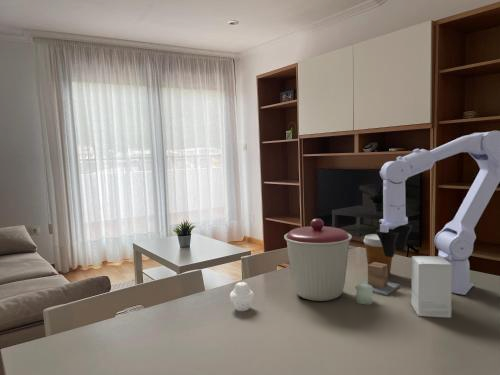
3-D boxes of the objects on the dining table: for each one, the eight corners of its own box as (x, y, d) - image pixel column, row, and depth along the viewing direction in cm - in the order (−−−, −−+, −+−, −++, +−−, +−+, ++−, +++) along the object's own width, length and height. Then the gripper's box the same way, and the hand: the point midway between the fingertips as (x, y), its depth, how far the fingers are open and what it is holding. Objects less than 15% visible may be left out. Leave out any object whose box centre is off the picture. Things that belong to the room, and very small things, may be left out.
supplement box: (452, 318, 86) (452, 264, 85) (417, 316, 88) (417, 263, 87) (442, 305, 93) (443, 255, 92) (410, 304, 95) (410, 255, 94)
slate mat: (369, 280, 114) (369, 278, 114) (399, 286, 108) (399, 284, 108) (355, 288, 107) (355, 286, 107) (386, 295, 101) (386, 293, 101)
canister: (277, 302, 99) (274, 223, 97) (295, 280, 115) (293, 212, 114) (347, 311, 92) (346, 226, 90) (356, 286, 109) (355, 214, 107)
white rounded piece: (259, 307, 96) (258, 281, 95) (242, 315, 91) (241, 287, 91) (242, 302, 100) (241, 276, 100) (225, 309, 96) (224, 282, 95)
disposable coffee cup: (361, 269, 124) (361, 233, 123) (391, 269, 123) (391, 233, 122) (366, 279, 115) (365, 240, 114) (398, 279, 113) (398, 240, 112)
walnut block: (374, 282, 110) (373, 262, 110) (387, 284, 107) (387, 264, 107) (367, 285, 107) (367, 265, 107) (381, 288, 104) (381, 267, 104)
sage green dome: (360, 297, 101) (360, 282, 100) (375, 300, 98) (375, 285, 98) (353, 301, 98) (353, 286, 97) (368, 305, 95) (368, 290, 95)
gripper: (390, 201, 111) (391, 246, 112) (368, 207, 101) (369, 257, 102) (415, 202, 106) (415, 249, 108) (394, 209, 96) (395, 261, 97)
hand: (394, 253), depth 104 cm, fingers open, 7 cm apart
